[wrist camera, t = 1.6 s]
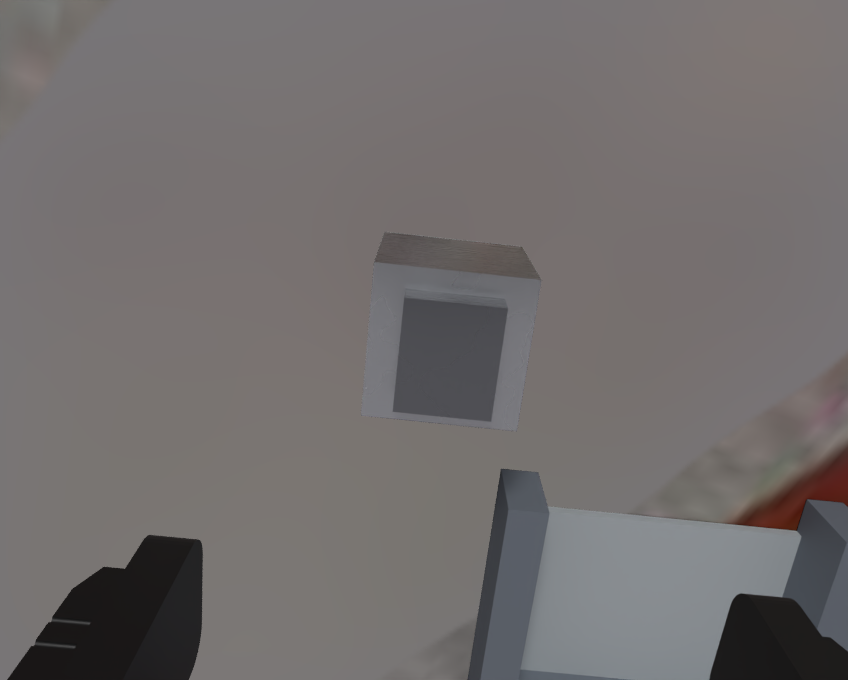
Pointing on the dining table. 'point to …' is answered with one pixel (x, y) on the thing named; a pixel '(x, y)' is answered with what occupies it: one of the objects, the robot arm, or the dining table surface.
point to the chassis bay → (639, 587)
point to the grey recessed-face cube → (449, 331)
